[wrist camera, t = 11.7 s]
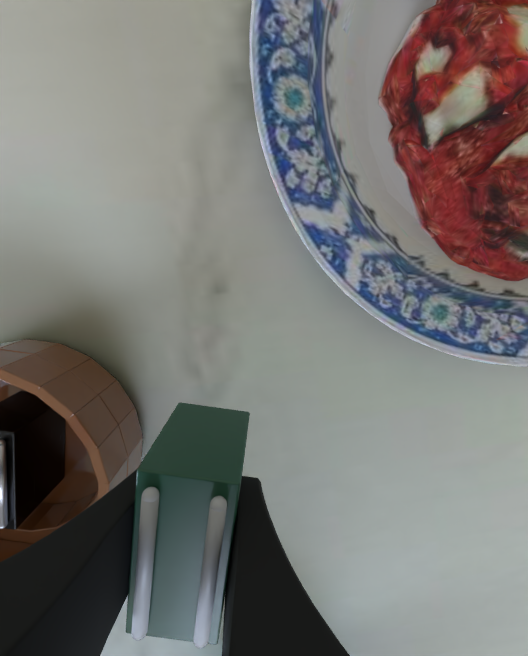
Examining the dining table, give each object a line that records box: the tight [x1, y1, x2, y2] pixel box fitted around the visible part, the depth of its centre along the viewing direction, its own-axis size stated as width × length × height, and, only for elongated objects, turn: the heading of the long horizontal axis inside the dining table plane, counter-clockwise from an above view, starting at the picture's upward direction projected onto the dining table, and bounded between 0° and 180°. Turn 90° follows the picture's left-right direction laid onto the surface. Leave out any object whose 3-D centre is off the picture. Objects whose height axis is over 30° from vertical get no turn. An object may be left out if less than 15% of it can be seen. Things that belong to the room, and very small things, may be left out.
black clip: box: [0, 391, 66, 530], centre depth 17 cm, size 5×2×4 cm, turn 172°
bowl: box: [0, 339, 143, 562], centre depth 17 cm, size 11×11×4 cm
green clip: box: [126, 403, 250, 648], centre depth 10 cm, size 5×2×4 cm, turn 172°
